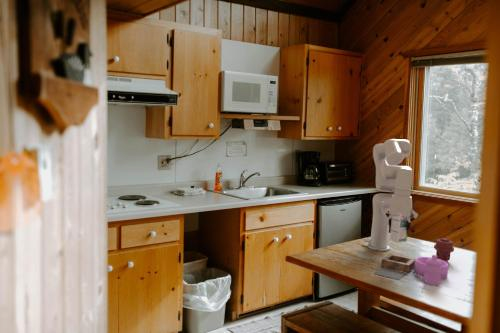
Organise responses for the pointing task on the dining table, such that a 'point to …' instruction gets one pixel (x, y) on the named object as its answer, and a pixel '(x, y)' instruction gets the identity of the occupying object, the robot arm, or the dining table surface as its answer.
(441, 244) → the mechanical component
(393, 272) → the rubber mat
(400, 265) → the socket collar
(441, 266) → the container set
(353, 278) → the dining table surface
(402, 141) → the robot arm
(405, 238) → the syrup box
